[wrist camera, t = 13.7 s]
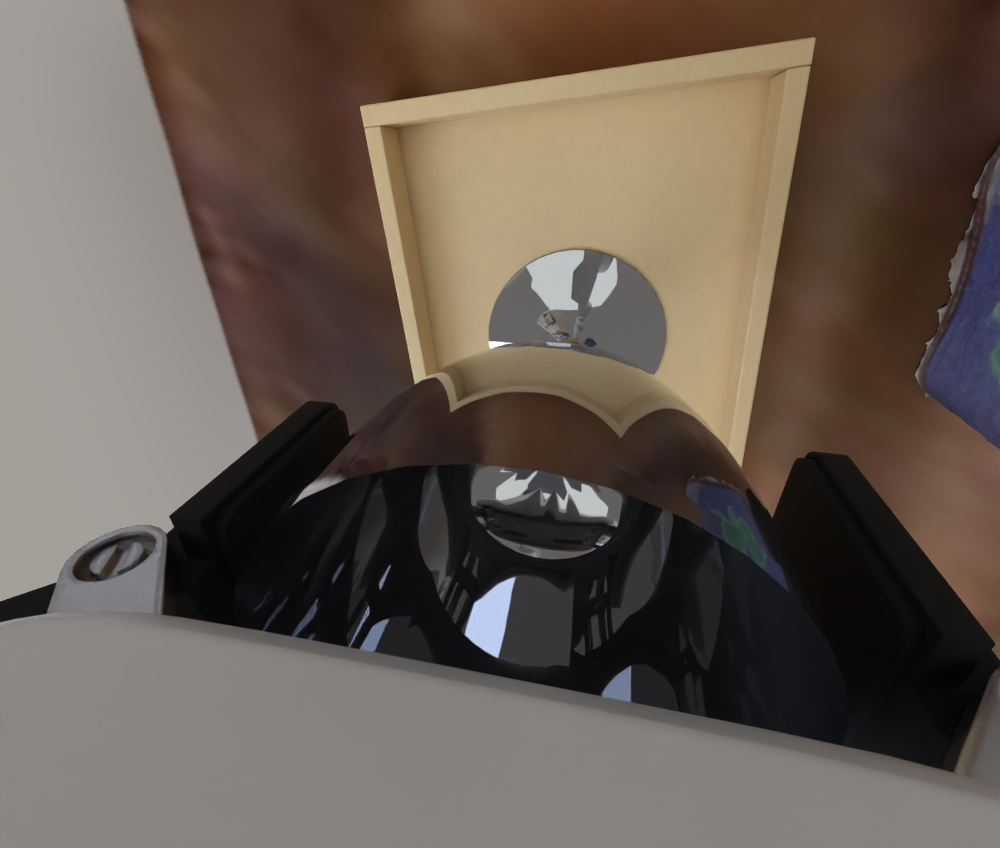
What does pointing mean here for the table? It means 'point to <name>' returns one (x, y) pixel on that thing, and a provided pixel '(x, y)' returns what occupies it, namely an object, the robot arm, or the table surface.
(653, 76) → the tray
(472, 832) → the robot arm
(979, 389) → the flask
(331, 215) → the table surface
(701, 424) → the wine glass
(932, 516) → the table surface
